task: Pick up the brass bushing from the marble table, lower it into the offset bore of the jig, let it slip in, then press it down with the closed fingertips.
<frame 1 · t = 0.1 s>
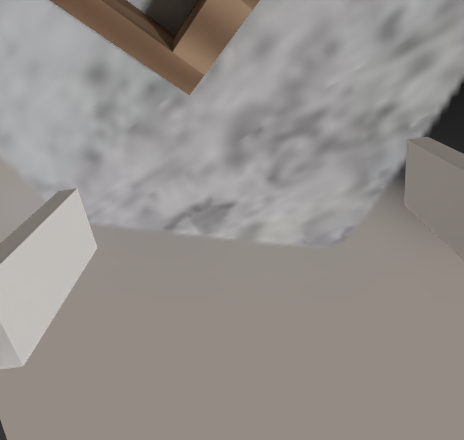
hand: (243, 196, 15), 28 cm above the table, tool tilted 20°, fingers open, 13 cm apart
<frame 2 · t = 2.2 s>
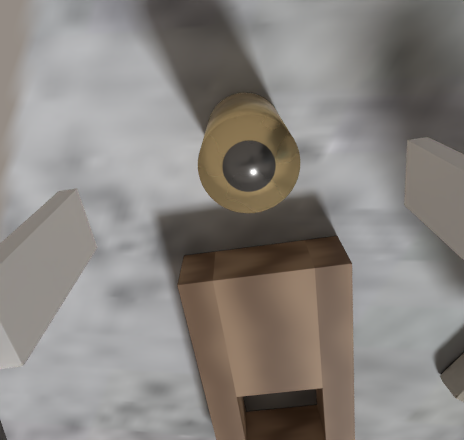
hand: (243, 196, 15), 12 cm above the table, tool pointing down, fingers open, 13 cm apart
bushing: (244, 131, 26), on the table
jig: (273, 351, 34), on the table
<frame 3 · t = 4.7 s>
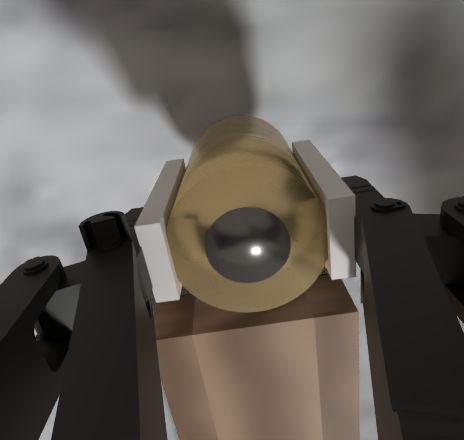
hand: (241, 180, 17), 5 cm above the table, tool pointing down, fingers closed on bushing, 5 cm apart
bushing: (240, 167, 19), point 3 cm above the table, touching gripper
jig: (265, 401, 30), on the table
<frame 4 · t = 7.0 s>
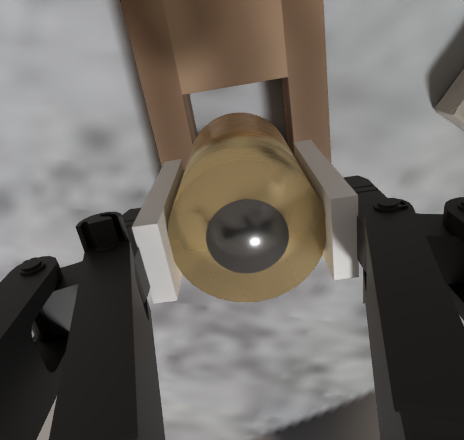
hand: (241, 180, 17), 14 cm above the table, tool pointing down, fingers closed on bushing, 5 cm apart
bushing: (239, 163, 19), point 12 cm above the table, touching gripper
jig: (232, 72, 28), on the table
when the fingers open (6 cm above the table, at t = 9.3 s): bushing drops 3 cm, resting in jig.
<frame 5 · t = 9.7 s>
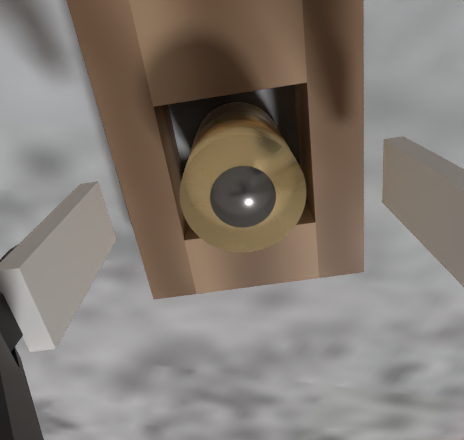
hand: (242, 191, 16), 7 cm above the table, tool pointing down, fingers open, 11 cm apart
bushing: (237, 146, 22), resting in jig
jig: (227, 75, 21), on the table
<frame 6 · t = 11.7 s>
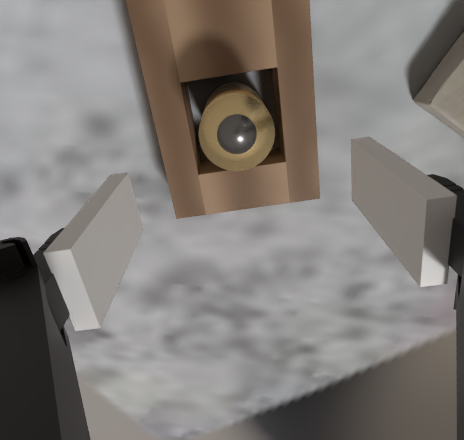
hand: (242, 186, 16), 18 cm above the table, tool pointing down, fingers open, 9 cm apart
bushing: (234, 113, 32), resting in jig
jig: (227, 64, 31), on the table
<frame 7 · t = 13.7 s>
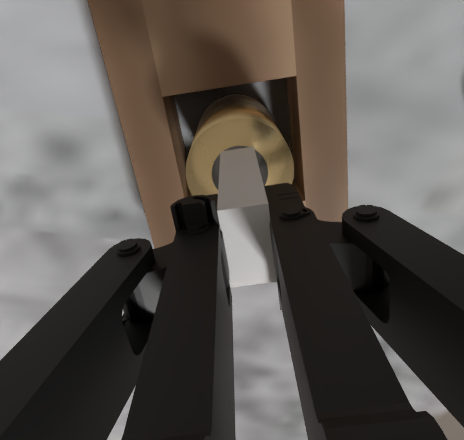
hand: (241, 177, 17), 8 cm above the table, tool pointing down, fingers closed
bushing: (236, 134, 25), resting in jig, touching gripper
jig: (227, 70, 23), on the table
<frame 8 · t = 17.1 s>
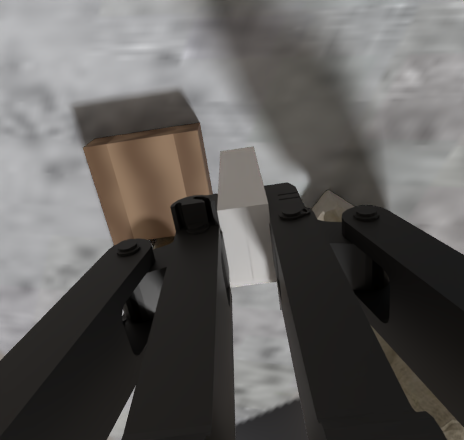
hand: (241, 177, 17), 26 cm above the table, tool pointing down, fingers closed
sculpture: (338, 230, 49), on the table
jig: (168, 218, 47), on the table
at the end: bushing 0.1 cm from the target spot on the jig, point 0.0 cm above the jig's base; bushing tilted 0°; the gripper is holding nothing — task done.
